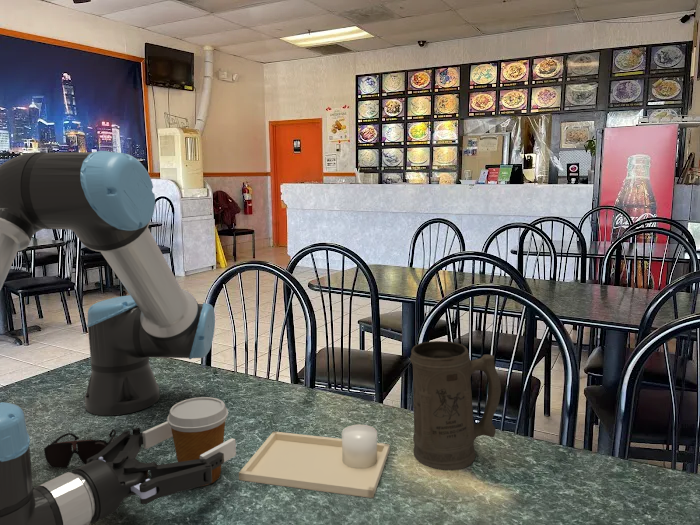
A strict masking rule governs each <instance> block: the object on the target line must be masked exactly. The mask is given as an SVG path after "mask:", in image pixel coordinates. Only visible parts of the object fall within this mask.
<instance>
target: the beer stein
mask: <svg viewBox="0 0 700 525" xmlns="http://www.w3.org/2000/svg"><path fill="white" fill-rule="evenodd" d="M410 353H411V354H410V356H409V359H410V360H409V361H410V362H411V365H412V386H413V387H412V388H413V390H412V391H413V439H412V440H413V456H414V458H415V459H416V461H418V462H419V464H422V465H423V466H425V467H428V468H431V469H434V470H440V471H457V470H462V469H465V468H467V467H469V466H471V465H472V464H473V463H474V461H475V458H476V451H475V444H474V442H475V440H476V439H477V437H480V436H486V437H491V438H494V437H495V434H496V427H495V425H494V424H493V419H494V416H495V413H496V411H497V408H498V406H499V403H500V400H501V399H500V397H501V393H502V388H501V387H502V386H501V380H500V376H499V374H498V371H497V369H496V366H495V356H494V355H492V354H483V355H482V356H481V357H480V358H476V359H473V360H471V357H470V354H469V350H468V348H467V347H466V346H465V345H464V344H462V343H458V342H454V341H443V340H441V341H440V340H435V341H431V340H430V341H423V342H421V343H417V344H415V345H414V346H412V349H411V351H410ZM477 371H479V372H480V371H481V372H483V373H484V374H485V376H486V379H487V388H488V389H487V390H488V391H487V396H486V404H485V407H484V410H483V414H482V416H481V419H480V421H479V422H478V423H474V412H473V411H474V410H473V409H474V408H473V397H472V396H473V395H472V394H473V393H472V383H471V382H472V381H471V377H472V374H474V373H475V372H477Z"/></svg>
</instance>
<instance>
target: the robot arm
mask: <svg viewBox="0 0 700 525" xmlns="http://www.w3.org/2000/svg"><path fill="white" fill-rule="evenodd" d="M153 188H154V185H153V181H152V179H151V176H150V174H149V172H148V170H147V169H146V167H145V166H144V165H143V163H142V162H141V161H140V160H138V159H137V158H136V157H135V156H133V155H131V154H128V153H126V152H125V153H124V152H115V151H113V152H112V151H108V150H98V151H93V152H92V151H89V152H88V151H83V152H82V151H79V152H77V151H76V152H73V151H71V152H70V151H69V152H42V151H39V152H29V153H23V154H20V155H18V156H16V157H13V158H11V159H9V160H7V161H5V162H3V163H2V164H0V292H1V290H2V288H3V286H4V284H5V281H6V279H7V276H8V274H9V272H10V270H11V268H12V265H13V263H14V260H15V258H16V255H17V254H18V252H21V251H23V250H26V249H27V248H28V247H29V245H30V243H31V240H32V238H33V237H34V235H35V234H37V232H38V233H39V232H40V231H41V230H70V231H72V232H74V234H75V235H76V237H77V238H78V240H79V241H80V242H81V244H83V245H84V246H85V247H86V248H87V249H89V250H91V251H93V252H94V251H95V252H99V253H101V255H102V256H103V258H104V259H105V260H106V262H107V264H108V266H110V268H111V269H112V270H113V273H114V274H115V275H116V277H117V278H118V280H119V281H120V282H121V284H122V285H123V286H124V288H125V289H126V291H127V293H128V295H122V296H117V297H116V296H115V297H113V298H108V299H103V300H101V301H100V300H99V301H97V302H96V303H94V304H92V305H90V306H89V308H88V310H87V325H86V328H87V332H88V342H89V354H90V356H89V357H90V365H91V367H90V368H91V373H90V377H89V381H88V385H87V387H86V388H87V389H86V391H85V392H86V393H85V396H84V404H85V406H84V407H85V410H86V411H87V412H88V413H91V414H93V415H97V416H120V415H128V414H132V413H135V412H138V411H142V410H145V409H147V408H149V407H151V406H153V405H155V404H156V403H157V402H158V401H159V400H160V386H159V384H158V383H157V380H156V378H155V376H154V372H153V370H152V367H151V365H150V358H153V359H154V358H157V359H158V358H161V359H163V358H164V359H166V358H167V359H188V360H192V359H203V358H204V357H206V356H207V355H208V353H209V352H210V350H211V349H212V348H211V347H212V344H213V340H214V335H215V328H216V316H215V309H214V307H213V306H214V305H212V304H210V303H207V302H203V303H198V301H197V299H196V297H195V296H194V295H193V294H192V293H191V292H190V291H188V290H186V289H184V288H182V287H181V286H180V284H179V282H178V280H177V278H176V276H175V275H174V273H173V271H172V269H171V267H170V266H169V264H168V262H167V260H166V258H165V256H164V254H163V253H162V251H161V248H160V247H159V245H158V243H157V241H156V239H155V238H154V236H153V234H152V233H151V230H150V229H149V226H150V223H151V220H152V218H153V216H154V212H155V208H156V207H155V206H156V195H155V193H154V192H153ZM27 429H28V428H27V423H26V417H25V412H24V411H23V409H22V408H21V407H20V406H19V405H17V404H14V403H10V402H5V401H4V402H0V525H90V524H91V525H93V524H96V523H97V522H99V521H101V520H103V519H105V518H107V517H108V516H111V515H112V514H114V513H115V512H116V511H117V510H119V508H120V507H121V505H122V503H123V501H124V500H125V499H126V498H128V497H131V496H135V495H137V496H139V500H140V504H141V505H146V504H149V503H151V502H153V501H155V500H158V499H160V498H162V497H166V496H170V495H174V494H177V493H180V492H181V493H182V492H184V491H189V490H191V489H195V488H199V487H204V486H203V485H205V486H207V485H206V484H208V485H211V484H212V483H211V482H212V470H213V469H215V468H217V467H219V466H220V465H221V466H222V465H224V463H225V462H227V461H229V460H231V459H232V458H234V457H236V456H237V448H236V446H237V445H236V444H237V443H236V439H235V438H232V437H231V438H229V439H228V440H226V441H224V442H223V443H222V444H220V445H218V446H216V447H214V448H213V449H211V450H209V451H207V452H205V453H203V454H201V455H200V459H197V460H189V461H182V462H178V461H177V462H176V461H175V462H170V463H169V462H168V463H163V464H157V463H156V462H155V461H151V462H141V461H139V459H137V456H138V454H139V453H140V451H141V449H142V448H143V449H145V450H147V449H150V448H152V447H154V446H156V445H158V444H160V443H162V442H164V441H166V440H168V439H170V438H173V435H172V429H171V427H170V425H169V423H168V421H167V420H166V421H164V422H163V423H160V424H157V425H156V426H153V427H151V428H148V429H146V430H144V431H142V432H141V428H140V427H134V428H133V429H132V430H131V431H132V433H131V431H130V430H124V431H123V432H122V433H120V434H119V435H118V436H117V437H115V438H114V440H113V441H112V442H111V443H110V444H109V445H107V446H106V447H105V448H104V449H103V450H102V451H100V452H99V453H98V454H96V455H94V456H92V457H90V458H88V459H87V464H83V465H81V466H77V468H74V469H73V470H71V472H69V471H67V472H64V473H63V474H60V475H58V476H57V477H54V478H52V479H50V480H48V481H46V482H44V483H41V484H39V485H37V486H35V487H34V486H33V484H34V483H33V473H32V463H31V462H32V461H31V450H30V445H31V444H30V442H31V439H30V438H31V437H30V435H29V433H28V431H27ZM149 471H150V475H149ZM149 476H151V477H150V478H149ZM210 483H211V484H210Z"/></svg>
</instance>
